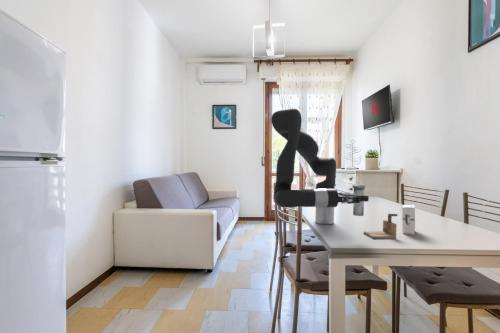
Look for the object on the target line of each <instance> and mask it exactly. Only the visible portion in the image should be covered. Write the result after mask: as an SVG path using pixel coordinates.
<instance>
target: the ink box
mask: <svg viewBox="0 0 500 333" xmlns="http://www.w3.org/2000/svg"><path fill="white" fill-rule="evenodd" d="M415 207H416V205H413V204H402V207H401V211H402V213H401V214H402V216H401V218H402V224H401V225H402V232H401V233H402V234H405V235H412V236H414V235H416V234H415V233H416V211H415V210H416V208H415Z"/></svg>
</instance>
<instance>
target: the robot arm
mask: <svg viewBox="0 0 500 333" xmlns="http://www.w3.org/2000/svg"><path fill="white" fill-rule="evenodd" d="M270 121H271V125H272V127H273V129H274V130H275V132H277V134H279V135H280V136H281V137H283V138H284V139H285V140H286V143H285V146H284V147H283V149H282V150H281V153H280V154H279V156H278V159H277V160H276V169H275V170H276V172H275V174H276V175H275V177H276V178H275V185H274V191H273V192H274V193H273V200H274V203H275V204H276V205H277V206H278V207H281V208H299V207H302V208H315V214H314V215H315V218H314V219H315V223H316V224H319V225H332V224H335V208H336V207H337V206H339V203H341V204H349V205H350V204H353V203H360V201H364V202H369V201H370V200H369V199H370V198H369V195H364V196H359V195H357V196H356V195H354V192H353V193H351V192H338V190H337V189H336V188H335V186H336V178H337V162H336V160H335V158H333V157H320V156H318V153H319V145H318V143H317V141H316V140H315V139H314V137H313V136H311V135H310V134H308V133H307V132H306V131H305V132H304V131H303V130H301V129H302V122H303V121H302V113H301V112H300V111H299V109H297V108H288V109H281V110H277V111H275V112H273V113H272V115H271V120H270ZM296 153H298V154H299V155H300V156H301V157H302V158H303V159H304V160H305V162H306V163H307V164H308V165H309V167H310V169H311V170H312V171H313V173H314V174H315V175H317V176H321V177H322V176H325V178H324V180H322V181H319V182H317V183H316V184H315V188H312V189H311V188H309V189H306V188H305V189H292V184H293V182H294V178H295V163H296V161H295V160H296Z"/></svg>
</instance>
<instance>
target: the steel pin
mask: <svg viewBox="0 0 500 333" xmlns="http://www.w3.org/2000/svg"><path fill="white" fill-rule="evenodd" d="M352 189H353V194H354V195H356V196H357V195H359V196H365V189H366V185H364V184H352ZM352 204H353V206H352V207H353V210H352V215H353V216H355V217H364V213H365V212H364V211H365V208H364V207H365V201H360V203H352Z"/></svg>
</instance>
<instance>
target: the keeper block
mask: <svg viewBox="0 0 500 333" xmlns="http://www.w3.org/2000/svg"><path fill="white" fill-rule="evenodd" d="M392 217H398V213H387V219H382V230H379V231H375V230H374V231H373V230H372V231H371V230H369V231H365V230H364V231H363V235H365V236H367V237H369V238H371V239H372V240H374V239H375V240H377V239H378V240H384V239H387V240H389V239H390V240H391V239H395V240H396V239H397V223H394V222H392Z"/></svg>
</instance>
